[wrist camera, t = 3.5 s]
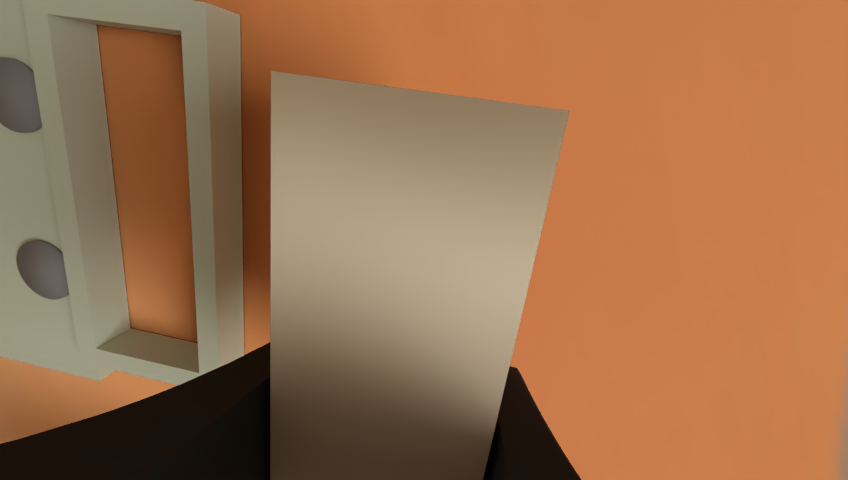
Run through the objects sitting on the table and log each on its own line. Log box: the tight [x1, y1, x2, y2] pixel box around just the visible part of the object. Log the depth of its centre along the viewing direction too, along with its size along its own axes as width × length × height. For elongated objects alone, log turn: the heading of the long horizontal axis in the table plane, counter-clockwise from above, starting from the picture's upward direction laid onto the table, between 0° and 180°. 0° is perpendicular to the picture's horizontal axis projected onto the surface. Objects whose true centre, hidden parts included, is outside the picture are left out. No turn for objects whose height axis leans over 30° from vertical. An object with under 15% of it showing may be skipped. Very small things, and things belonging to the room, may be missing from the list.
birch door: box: [270, 71, 569, 480], centre depth 9 cm, size 12×4×6 cm, turn 173°
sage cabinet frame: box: [0, 0, 244, 385], centre depth 18 cm, size 20×14×2 cm
